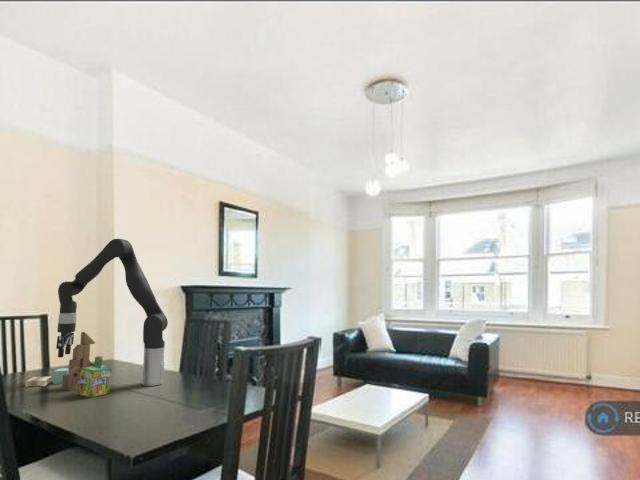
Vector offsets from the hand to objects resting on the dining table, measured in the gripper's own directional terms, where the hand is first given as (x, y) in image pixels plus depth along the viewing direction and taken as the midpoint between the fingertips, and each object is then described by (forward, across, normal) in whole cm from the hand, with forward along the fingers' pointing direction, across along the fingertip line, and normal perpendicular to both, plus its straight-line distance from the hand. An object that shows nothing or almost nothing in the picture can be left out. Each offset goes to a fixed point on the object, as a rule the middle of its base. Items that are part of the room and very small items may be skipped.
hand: (64, 355), depth 200 cm
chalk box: (+12, -25, -22) cm, 36 cm away
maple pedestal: (+13, -3, +9) cm, 16 cm away
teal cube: (+13, 0, 0) cm, 13 cm away
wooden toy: (+13, -10, -12) cm, 20 cm away
